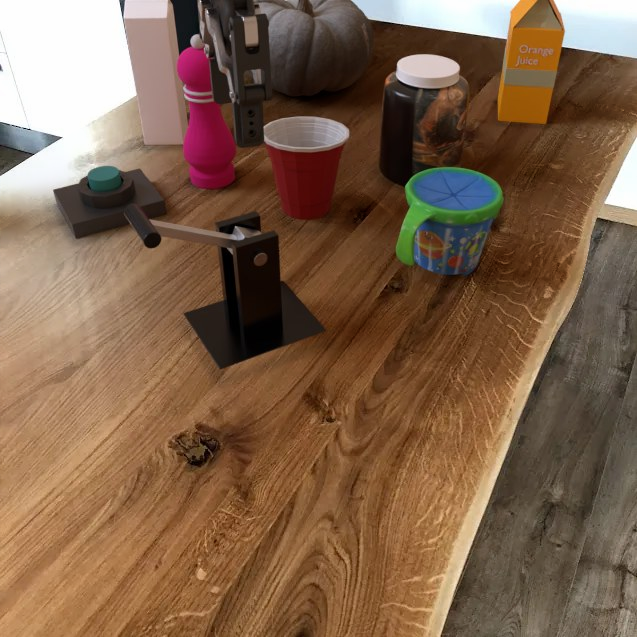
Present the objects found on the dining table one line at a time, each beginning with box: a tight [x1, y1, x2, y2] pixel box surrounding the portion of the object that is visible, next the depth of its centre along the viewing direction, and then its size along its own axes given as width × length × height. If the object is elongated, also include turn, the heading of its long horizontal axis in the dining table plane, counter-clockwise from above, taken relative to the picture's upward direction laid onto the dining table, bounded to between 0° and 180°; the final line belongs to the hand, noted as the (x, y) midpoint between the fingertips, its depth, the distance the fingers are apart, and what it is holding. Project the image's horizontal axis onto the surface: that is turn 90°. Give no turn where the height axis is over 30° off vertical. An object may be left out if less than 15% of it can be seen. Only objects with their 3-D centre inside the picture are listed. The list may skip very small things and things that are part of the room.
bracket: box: [183, 210, 327, 370], centre depth 74 cm, size 12×10×13 cm
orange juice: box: [497, 0, 566, 125], centre depth 114 cm, size 8×9×20 cm
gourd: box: [245, 0, 375, 97], centre depth 126 cm, size 25×25×17 cm
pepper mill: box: [177, 33, 237, 190], centre depth 97 cm, size 7×7×20 cm
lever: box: [124, 204, 263, 255], centre depth 67 cm, size 13×6×2 cm, turn 119°
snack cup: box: [395, 167, 505, 277], centre depth 84 cm, size 16×10×10 cm
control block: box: [52, 167, 168, 240], centre depth 96 cm, size 12×10×4 cm
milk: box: [123, 0, 189, 146], centre depth 107 cm, size 6×6×22 cm
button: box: [86, 165, 122, 191], centre depth 94 cm, size 4×4×2 cm
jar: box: [378, 53, 470, 187], centre depth 100 cm, size 12×12×15 cm
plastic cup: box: [264, 115, 350, 221], centre depth 92 cm, size 11×11×12 cm
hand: (237, 122), depth 60 cm, fingers open, 8 cm apart
